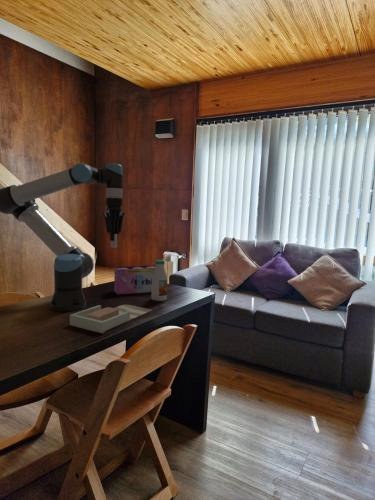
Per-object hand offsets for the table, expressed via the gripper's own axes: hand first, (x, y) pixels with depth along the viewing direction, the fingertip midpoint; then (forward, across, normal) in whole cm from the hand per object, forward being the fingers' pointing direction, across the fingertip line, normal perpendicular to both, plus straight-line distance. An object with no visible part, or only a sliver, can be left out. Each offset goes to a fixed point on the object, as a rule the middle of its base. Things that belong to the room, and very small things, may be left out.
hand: (113, 247), depth 165 cm
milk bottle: (+27, -15, +16) cm, 35 cm away
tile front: (+26, +29, +17) cm, 43 cm away
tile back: (+26, +23, +17) cm, 39 cm away
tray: (+26, +27, +17) cm, 41 cm away
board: (+26, +11, +17) cm, 33 cm away
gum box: (+27, -22, -3) cm, 35 cm away
